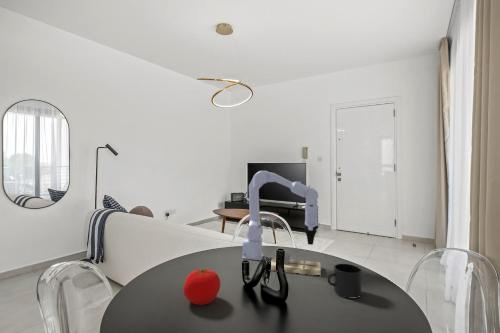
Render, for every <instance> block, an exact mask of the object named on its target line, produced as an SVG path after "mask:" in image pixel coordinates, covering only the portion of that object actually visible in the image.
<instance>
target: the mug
mask: <svg viewBox="0 0 500 333" xmlns="http://www.w3.org/2000/svg"><path fill="white" fill-rule="evenodd" d="M362 272H363V270H362V268H360V267H358V266H357V265H354V264H349V263H338V264H337V263H336V264H335V265H334V267H333V273H330V274H329V275H328V277H327V282H328V285H329V286H331V287H333V291H335V292H336V293H337V294H339V295H341V296H345V297H358V296H360V295H361V296H362V284H363V283H362V277H363V273H362ZM331 277H333V282H332V281H331ZM335 292H334V293H335ZM336 293H335V294H336ZM337 294H336V295H337ZM339 295H338V296H339ZM341 296H340V297H341Z"/></svg>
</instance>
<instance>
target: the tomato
mask: <svg viewBox="0 0 500 333" xmlns="http://www.w3.org/2000/svg"><path fill="white" fill-rule="evenodd" d="M220 288H221V279H220V276H219V275H218V274H217V272H216V271H215V270H212V269H208V268H203V269H202V268H201V269H198V268H197V269H196V270H194V271H191V272H190V273H189V274H188V275H187V277H186V279H185V282H184V285H183V294H184V296H185V298H186V299H187V301H188V302H190V303H192V304H195V305H198V306H204V305H208V304H211V303H212V302H213V301H214V300H215V299H216V297H217V296H218V294H219V292H220V290H221V289H220Z"/></svg>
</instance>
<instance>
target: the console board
mask: <svg viewBox="0 0 500 333" xmlns="http://www.w3.org/2000/svg"><path fill="white" fill-rule="evenodd" d="M276 258H277V257H272V258H271V260H270V262H271V271H270V272H277V271H276ZM284 269H285V272H284V273H289V274H296V273H299V274H298V275H305V274H308V275H307V276H313V275H320V276H319V277H321V274H322V272H321V271H322V268H321V262H319V261H309V260H301V259H300V260H298V259H290V262H289V264H284Z"/></svg>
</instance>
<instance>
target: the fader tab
mask: <svg viewBox="0 0 500 333" xmlns="http://www.w3.org/2000/svg"><path fill="white" fill-rule="evenodd" d="M284 252H285V264H289V262H290V260H291V252H288V251H287V252H286V251H284Z"/></svg>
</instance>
